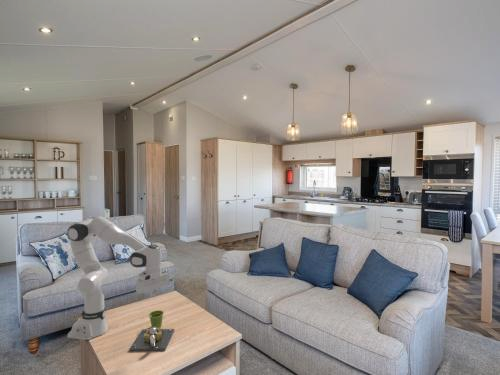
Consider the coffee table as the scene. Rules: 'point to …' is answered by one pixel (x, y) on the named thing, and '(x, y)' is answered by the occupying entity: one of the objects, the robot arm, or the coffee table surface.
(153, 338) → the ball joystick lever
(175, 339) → the coffee table surface
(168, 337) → the flange plate
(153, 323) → the plant pot
